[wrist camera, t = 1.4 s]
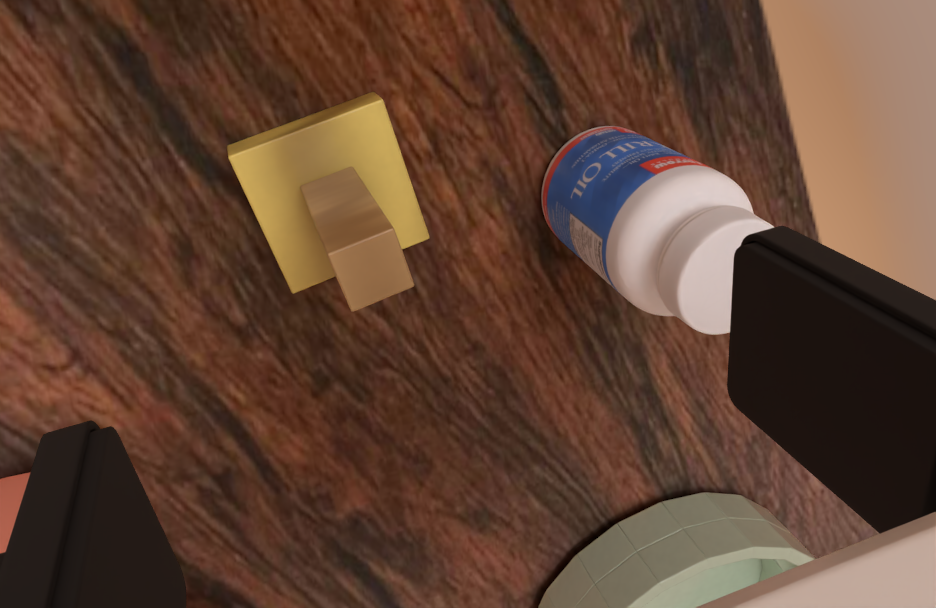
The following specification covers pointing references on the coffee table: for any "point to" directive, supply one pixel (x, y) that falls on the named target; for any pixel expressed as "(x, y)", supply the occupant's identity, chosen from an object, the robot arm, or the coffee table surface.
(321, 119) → the square plate with grip
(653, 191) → the pill bottle
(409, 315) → the coffee table surface
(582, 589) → the bowl
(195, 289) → the coffee table surface
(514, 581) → the coffee table surface
